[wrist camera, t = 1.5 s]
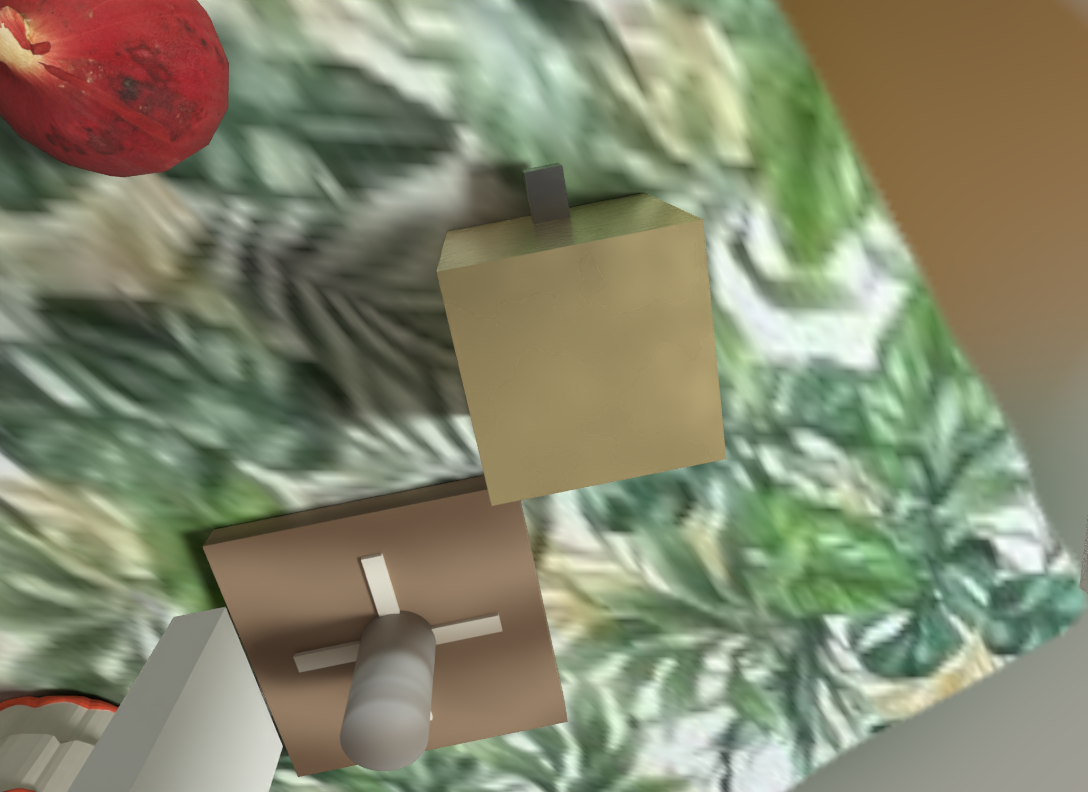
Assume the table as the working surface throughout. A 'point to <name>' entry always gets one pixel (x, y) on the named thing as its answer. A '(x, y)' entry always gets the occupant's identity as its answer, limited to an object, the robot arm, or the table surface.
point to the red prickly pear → (112, 81)
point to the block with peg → (583, 340)
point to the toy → (48, 740)
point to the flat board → (392, 624)
